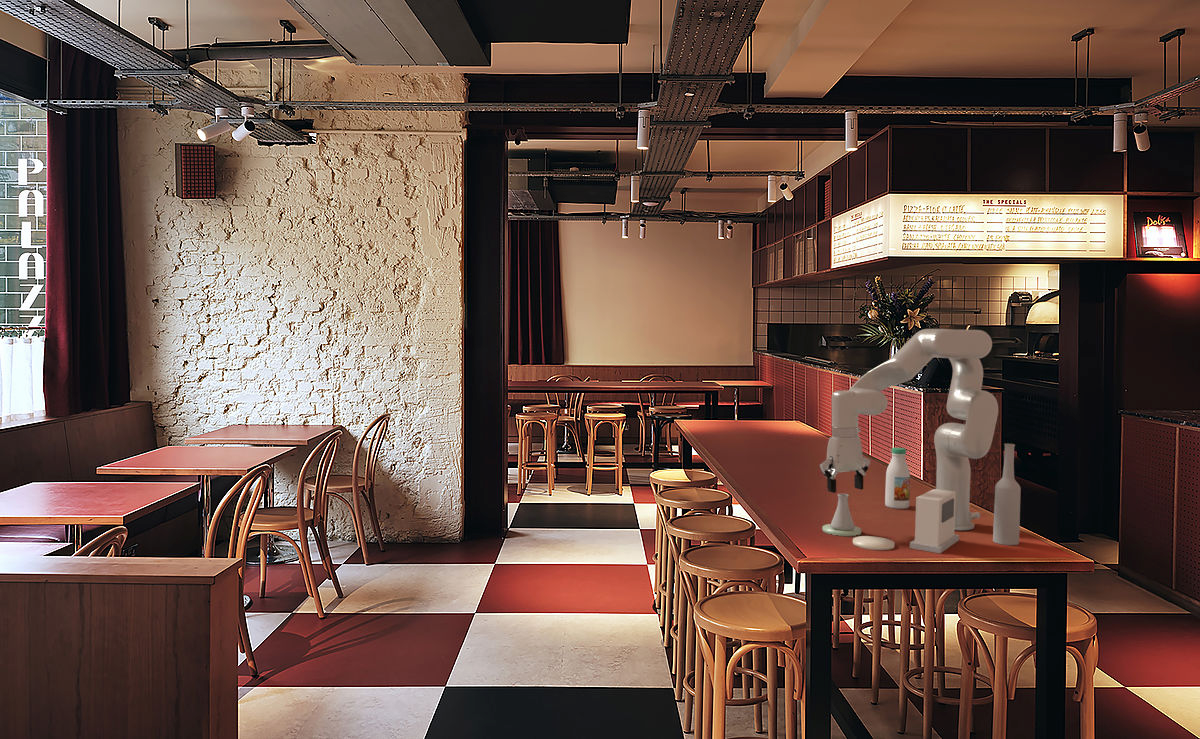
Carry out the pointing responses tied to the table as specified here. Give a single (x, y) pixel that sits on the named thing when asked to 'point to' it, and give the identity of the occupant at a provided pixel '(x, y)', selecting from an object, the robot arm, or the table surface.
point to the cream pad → (873, 543)
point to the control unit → (935, 521)
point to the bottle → (1007, 503)
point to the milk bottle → (897, 481)
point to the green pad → (841, 531)
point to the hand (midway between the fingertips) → (845, 490)
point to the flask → (842, 515)
